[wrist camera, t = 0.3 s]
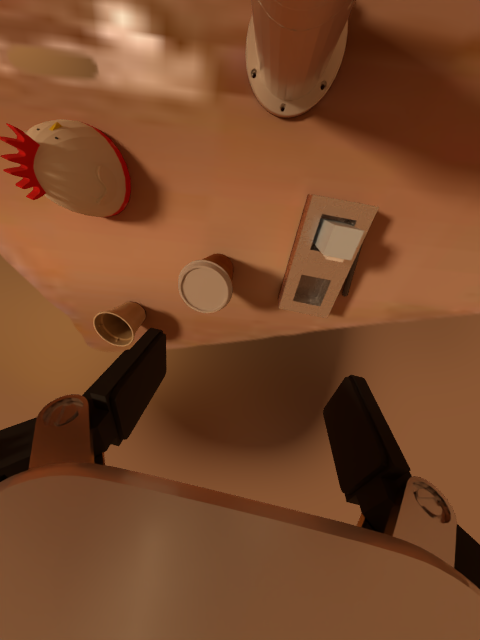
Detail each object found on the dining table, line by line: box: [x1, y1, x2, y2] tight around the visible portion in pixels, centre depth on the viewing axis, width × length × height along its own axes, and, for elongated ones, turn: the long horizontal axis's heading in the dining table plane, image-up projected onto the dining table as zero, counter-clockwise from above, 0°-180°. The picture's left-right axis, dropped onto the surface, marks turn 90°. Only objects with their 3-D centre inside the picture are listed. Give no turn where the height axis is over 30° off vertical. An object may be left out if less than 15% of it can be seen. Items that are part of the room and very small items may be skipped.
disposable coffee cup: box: [178, 254, 233, 313], centre depth 39 cm, size 10×10×12 cm
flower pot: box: [93, 302, 146, 346], centre depth 50 cm, size 9×9×9 cm
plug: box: [313, 218, 364, 262], centre depth 32 cm, size 5×4×10 cm
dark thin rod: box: [342, 245, 362, 296], centre depth 39 cm, size 15×1×1 cm, turn 1°
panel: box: [278, 194, 379, 318], centre depth 38 cm, size 20×10×5 cm, turn 171°
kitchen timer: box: [0, 120, 131, 217], centre depth 31 cm, size 14×14×15 cm
